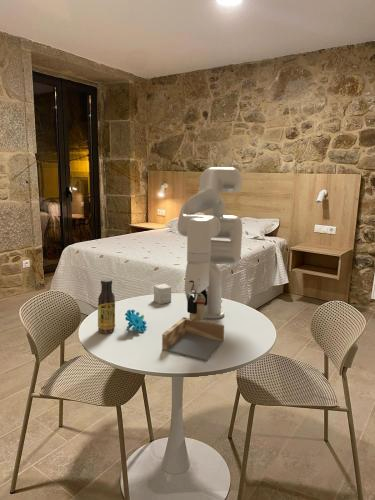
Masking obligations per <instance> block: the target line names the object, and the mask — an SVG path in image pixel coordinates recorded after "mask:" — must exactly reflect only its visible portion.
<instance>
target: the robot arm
mask: <svg viewBox="0 0 375 500" xmlns="http://www.w3.org/2000/svg"><path fill="white" fill-rule="evenodd" d="M242 185H243V176H242V174H241V172H240V171H239V169H237V168H236V167H225V166H223V167H220V166H217V167H215V166H213V167H208V168H206V169H204V171H203V172H202V173H201V174H200V176H199V185H198V191H197V193H196V194H194V195H192V196H191V197H190V198H188V199H187V200H186V201H185V202H184V203H183V205H182V206H181V208H180V212H179V215H178V218H177V231H178V233H179V234H180V236H183V237H187V241H186V262H187V263H186V266H185V267H186V268H185V276H184V292H185V297H186V301H187V305H186V307H187V313H188V314H190V313H193V314H196V313H197V302H196V299H197V295H198V294H199V293H200V292H201V293H202V294H203V295H204V297H205V309H204V318H203V319H205V320H217V319H218V320H219V319H221V318H223V317H224V316H225V313H226V312H225V310H224V309H223V308H222V303H223V299H222V289H223V273H222V271H221V268H220V267H219V266H218V265H227V266H229V265H232V266H235V265H238V264H239V262H240V260H241V258H242V257H241V255H242V243H243V242H242V239H243V222H242V219H241V217H239V216H237V215H227V214H225V213H226V202H225V201H224V200H223V198H222V193H238V192H240V191H241V189H242ZM201 212H204V214H199V213H201ZM197 213H198V214H197ZM217 239H218V240H217ZM221 239H229V240H221ZM195 291H196V292H195ZM194 294H195V295H194Z"/></svg>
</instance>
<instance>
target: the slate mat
mask: <svg viewBox="0 0 375 500" xmlns="http://www.w3.org/2000/svg"><path fill="white" fill-rule="evenodd" d="M223 342H224V341H220V340H215V339H211V338H207V337H202V336H198V335H193V334H189V333H184V334H183V335H182V336H181V337H180V338H179V339H178V340H177V341H175V342H174V343H173V344H172V345H171V346H170V347H169V348H168V349H166V351H165V352H166V353H171V354H174V355H178V356H182V357H186V358H188V359H189V358H190V359H193V360H198V361H202V362H208V360H209V359H210V358H211V357H212V355H213V354H214V353H215V352H216V350H218V348H219V347H220V346H221V345H222V344H223Z"/></svg>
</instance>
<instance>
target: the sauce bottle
mask: <svg viewBox="0 0 375 500" xmlns="http://www.w3.org/2000/svg"><path fill="white" fill-rule="evenodd" d="M100 286H101V290H100V291H101V292H100V293H99V295H98V299H97V327H98V330H97V331H98V332H99V333H101V334H110V333H113V332H114V331H115V328H116V301H115V300H116V299H115V294H114V293H113V287H112V286H113V279H112V278H102V279H101V280H100Z"/></svg>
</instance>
